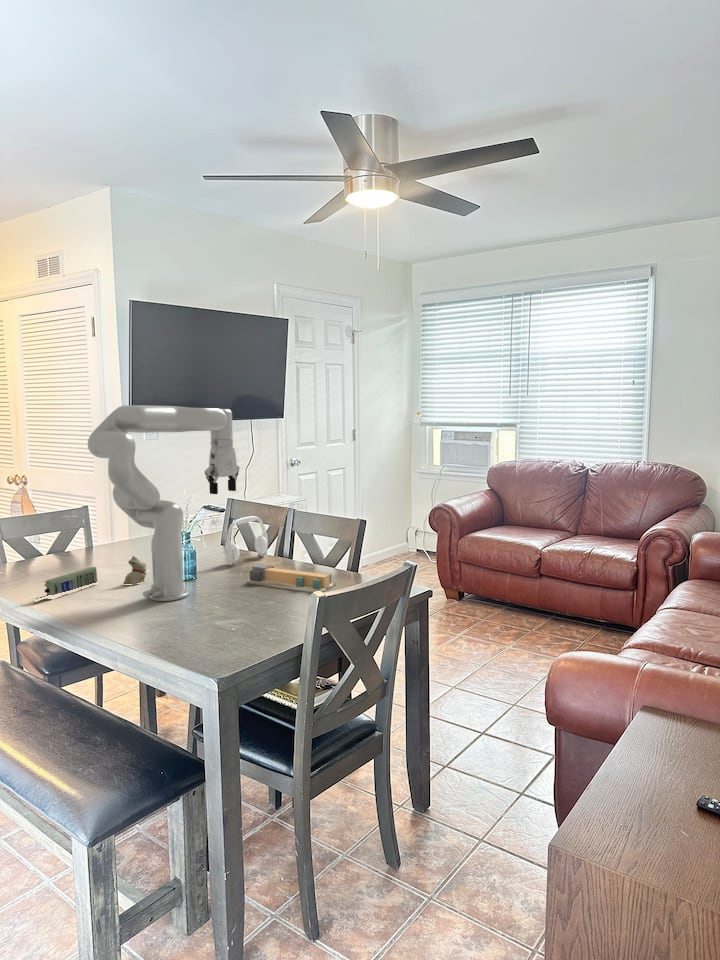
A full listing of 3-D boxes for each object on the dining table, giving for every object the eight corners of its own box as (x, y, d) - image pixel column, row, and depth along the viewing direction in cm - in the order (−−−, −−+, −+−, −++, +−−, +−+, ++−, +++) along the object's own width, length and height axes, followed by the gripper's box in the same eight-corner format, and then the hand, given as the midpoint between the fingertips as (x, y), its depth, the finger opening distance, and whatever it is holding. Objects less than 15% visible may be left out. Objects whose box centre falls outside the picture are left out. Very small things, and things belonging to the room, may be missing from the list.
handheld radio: (99, 585, 232) (38, 605, 209) (92, 584, 233) (30, 605, 211) (97, 566, 231) (36, 585, 209) (90, 566, 233) (28, 584, 210)
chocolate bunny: (147, 584, 232) (145, 556, 230) (123, 586, 229) (121, 558, 228) (147, 580, 237) (145, 553, 236) (123, 582, 235) (122, 554, 233)
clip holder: (321, 593, 218) (321, 580, 217) (246, 583, 231) (246, 571, 231) (335, 585, 227) (335, 573, 226) (263, 576, 240) (262, 564, 239)
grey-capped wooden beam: (324, 588, 220) (323, 575, 220) (252, 578, 233) (252, 566, 233) (330, 584, 224) (330, 572, 224) (259, 575, 237) (259, 563, 237)
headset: (233, 567, 254) (232, 521, 252) (221, 564, 258) (220, 519, 256) (271, 557, 269) (270, 514, 267) (259, 554, 274) (258, 512, 272)
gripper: (213, 445, 223) (214, 495, 225) (245, 443, 238) (246, 490, 240) (196, 445, 226) (198, 494, 228) (229, 442, 241) (230, 489, 243)
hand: (223, 492), depth 234 cm, fingers open, 9 cm apart
